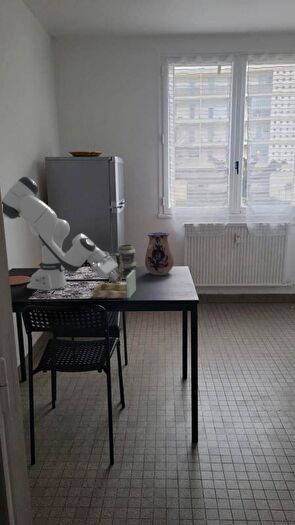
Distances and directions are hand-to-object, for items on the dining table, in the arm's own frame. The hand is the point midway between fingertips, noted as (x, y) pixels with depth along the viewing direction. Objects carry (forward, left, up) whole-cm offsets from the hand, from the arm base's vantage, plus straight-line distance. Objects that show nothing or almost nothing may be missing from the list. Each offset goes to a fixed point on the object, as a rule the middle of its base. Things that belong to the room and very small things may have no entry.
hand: (117, 278), depth 209 cm
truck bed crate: (-3, +1, -9) cm, 10 cm away
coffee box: (-9, +27, -10) cm, 30 cm away
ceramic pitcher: (+13, +47, -10) cm, 50 cm away
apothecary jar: (-7, +44, -10) cm, 46 cm away
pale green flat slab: (+7, +1, -8) cm, 11 cm away
